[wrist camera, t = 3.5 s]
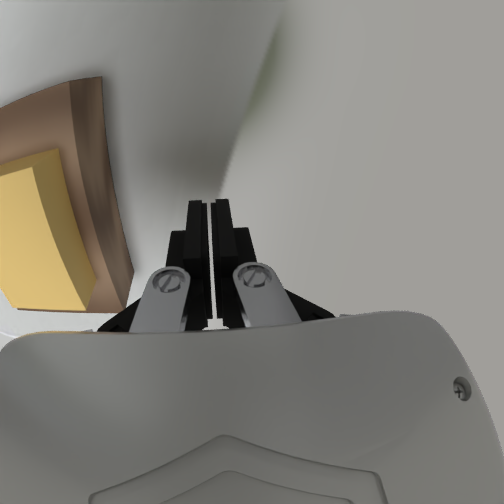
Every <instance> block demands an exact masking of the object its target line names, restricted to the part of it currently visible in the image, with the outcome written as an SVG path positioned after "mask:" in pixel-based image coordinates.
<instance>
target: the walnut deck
mask: <svg viewBox="0 0 504 504" xmlns="http://www.w3.org/2000/svg"><path fill="white" fill-rule="evenodd" d="M56 148H58V149H59V154H60V160H61V165H62V169H63V174H64V178H65V183H66V187H67V191H68V195H69V199H70V203H71V206H72V210H73V213H74V217H75V220H76V223H77V227H78V230H79V233H80V236H81V239H82V242H83V245H84V248H85V251H86V253H87V256H88V259H89V262H90V264H91V267H92V269H93V272H94V274H95V277H96V279H97V280H96V283H95V286H94V289H93V292H92V295H91V297H90V300H89V303H88V306H87V310H86V311H80V310H47V309H27V308H17V309H18V310H27V311H45V312H71V313H120V312H121V311H122V310H124V309H125V308H126V305H127V300H128V296H129V291H130V287H131V283H132V279H133V275H134V270H133V267H132V263H131V260H130V256H129V252H128V249H127V245H126V241H125V237H124V233H123V229H122V225H121V220H120V216H119V211H118V207H117V202H116V197H115V192H114V186H113V181H112V175H111V169H110V163H109V156H108V149H107V141H106V133H105V123H104V113H103V100H102V80H101V77H93V78H85V79H78V80H72V81H68V82H64V83H61V84H58V85H55V86H52V87H50V88H47V89H44V90H41V91H39V92H36V93H33V94H31V95H29V96H26V97H24V98H21V99H19V100H17V101H15V102H12V103H10V104H8V105H6V106H4V107H2V108H0V165H2V164H5V163H8V162H11V161H14V160H17V159H20V158H24V157H27V156H30V155H34V154H37V153H41V152H45V151H48V150H52V149H56Z"/></svg>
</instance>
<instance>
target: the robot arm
mask: <svg viewBox="0 0 504 504" xmlns="http://www.w3.org/2000/svg"><path fill="white" fill-rule="evenodd" d="M211 224H212V246H213V265H214V282H215V296H216V309H217V318H223V326H227V327H228V328H230V329H217V330H202V329H204V328H205V327H208V321H207V319H212V318H213V315H212V301H211V280H210V258H209V241H208V221H207V203H202V200H192V201H189V204H188V213H187V222H186V230H182V231H172V232H171V236H170V242H169V248H168V254H167V260H166V267H164V268H161V269H159V270H157V271H155V272H154V273H153V274H152V275H151V276H150V278H149V279H148V282H147V284H146V287H145V289H144V292H143V295H142V297H141V298H140V299H138V300H137V301H135V302H134V303H132V304H131V305H130V306H128V307H127V308H125V309H124V310H122V311H121V312H120V313H118V314H117V315H115V316H114V317H113V318H111V319H110V320H108V321H107V322H106V323H104V324H103V325H102V326H101V327H100V328H99V329H98V330H97V332H93V330H92V329H91V330H85V331H46V332H36V333H31V334H27V335H24V336H21V337H18V338H16V339H14V340H12V341H10V342H9V343H7V344H6V345H5V346H4V347H3V349H2V350H1V352H0V504H504V456H503V452H502V449H501V446H500V442H499V439H498V435H497V432H496V429H495V426H494V423H493V420H492V418H491V415H490V412H489V410H488V407H487V405H486V403H485V400H484V398H483V396H482V393H481V391H480V389H479V387H478V385H477V382H476V380H475V378H474V376H473V374H472V372H471V370H470V368H469V366H468V365H467V363H466V361H465V359H464V357H463V356H462V354H461V352H460V351H459V349H458V347H457V346H456V344H455V343H454V341H453V340H452V338H451V337H450V336H449V334H448V333H447V332H446V331H445V329H444V328H443V327H442V326H441V325H440V324H439V323H438V322H437V321H436V320H434V319H433V318H431V317H429V316H426V315H424V314H420V313H415V312H409V311H380V312H372V313H364V314H356V315H345V314H340V316H339V317H335V316H334V315H333V314H332V313H330V312H329V311H327V310H325V309H323V308H321V307H319V306H317V305H315V304H313V303H311V302H309V301H307V300H305V299H303V298H301V297H299V296H298V295H296V294H293V293H292V292H290V291H288V290H286V289H284V288H283V286H282V284H281V282H280V280H279V279H278V277H277V275H276V273H275V272H274V270H273V269H272V268H271V267H269V266H268V265H265V264H263V263H258V262H257V260H256V256H255V252H254V248H253V245H252V240H251V237H250V233H249V229H248V228H247V227H244V228H233V224H232V218H231V212H230V206H229V200H228V199H216V203H211Z"/></svg>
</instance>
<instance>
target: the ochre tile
mask: <svg viewBox="0 0 504 504" xmlns="http://www.w3.org/2000/svg"><path fill="white" fill-rule="evenodd" d="M96 280H97V279H96V277H95V274H94V272H93V269H92V267H91V264H90V262H89V259H88V256H87V253H86V251H85V248H84V245H83V242H82V239H81V236H80V233H79V230H78V227H77V223H76V220H75V217H74V213H73V210H72V206H71V203H70V199H69V195H68V191H67V187H66V183H65V178H64V174H63V169H62V165H61V160H60V154H59V149H58V148H56V149H52V150H48V151H45V152H41V153H37V154H34V155H30V156H27V157H24V158H20V159H17V160H14V161H11V162H8V163H5V164H2V165H0V288H1V290H2V291H3V293H4V295H5V296H6V298H7V299H8V301H9V303H10V304H11V306H12V307H13V308H27V309H47V310H80V311H86V310H87V306H88V303H89V300H90V297H91V295H92V292H93V289H94V286H95V283H96Z"/></svg>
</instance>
